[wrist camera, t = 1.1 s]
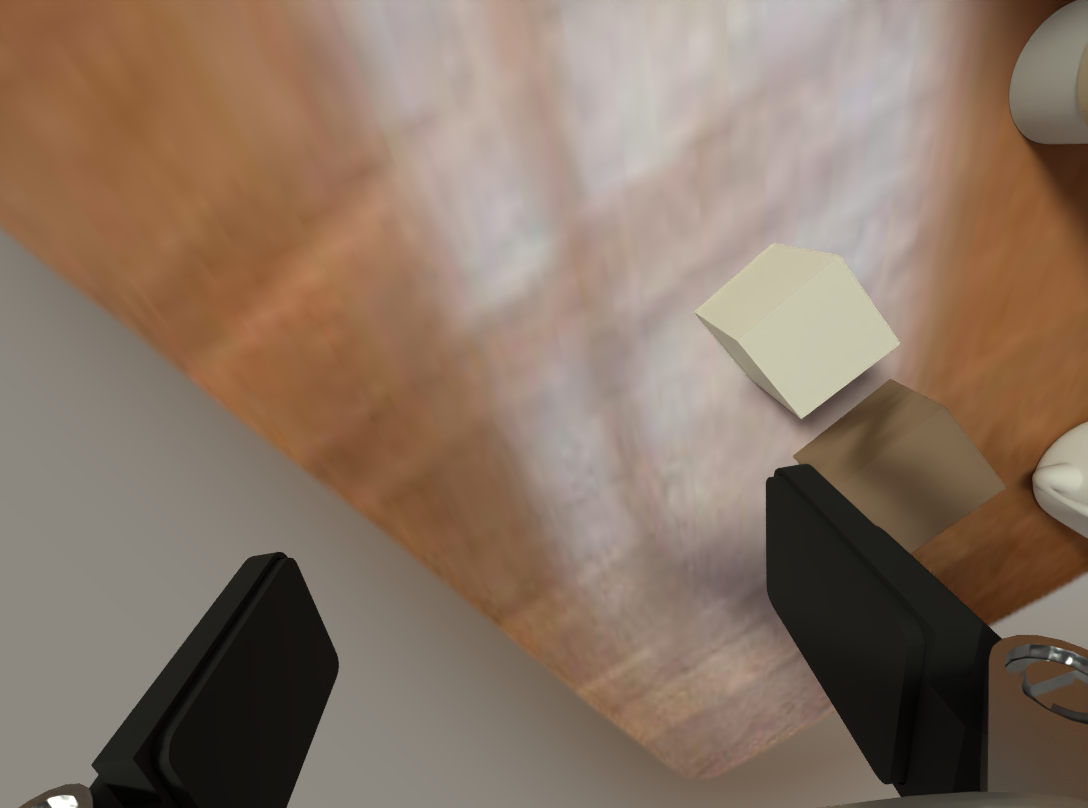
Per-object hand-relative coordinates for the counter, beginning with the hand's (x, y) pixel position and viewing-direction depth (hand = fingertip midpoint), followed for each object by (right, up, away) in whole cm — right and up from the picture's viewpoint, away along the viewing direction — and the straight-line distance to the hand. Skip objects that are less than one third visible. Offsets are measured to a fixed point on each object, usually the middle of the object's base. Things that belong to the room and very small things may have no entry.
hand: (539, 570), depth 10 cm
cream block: (+14, +9, +22) cm, 28 cm away
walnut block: (+23, 0, +27) cm, 35 cm away
